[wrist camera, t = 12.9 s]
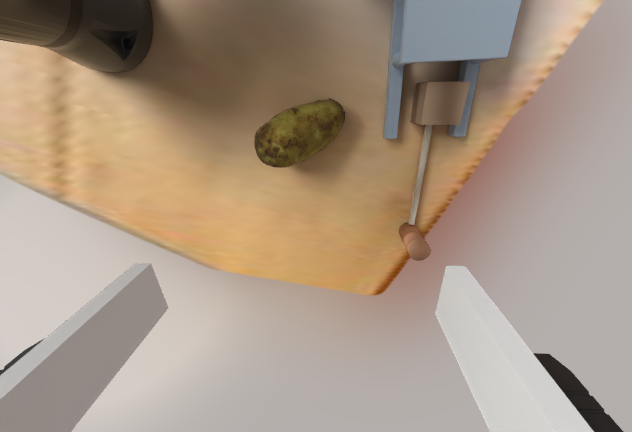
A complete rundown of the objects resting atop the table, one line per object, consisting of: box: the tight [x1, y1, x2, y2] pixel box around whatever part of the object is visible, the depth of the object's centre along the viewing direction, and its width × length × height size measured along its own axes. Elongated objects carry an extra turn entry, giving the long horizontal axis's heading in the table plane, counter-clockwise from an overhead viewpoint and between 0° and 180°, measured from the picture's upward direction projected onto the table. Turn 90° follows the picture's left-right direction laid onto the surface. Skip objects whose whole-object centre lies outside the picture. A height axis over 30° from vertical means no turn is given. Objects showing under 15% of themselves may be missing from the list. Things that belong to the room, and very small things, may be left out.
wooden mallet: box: [399, 81, 470, 261], centre depth 37 cm, size 5×25×7 cm, turn 0°
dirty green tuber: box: [254, 98, 345, 167], centre depth 35 cm, size 8×13×8 cm, turn 97°
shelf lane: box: [383, 0, 521, 139], centre depth 29 cm, size 11×24×8 cm, turn 2°
